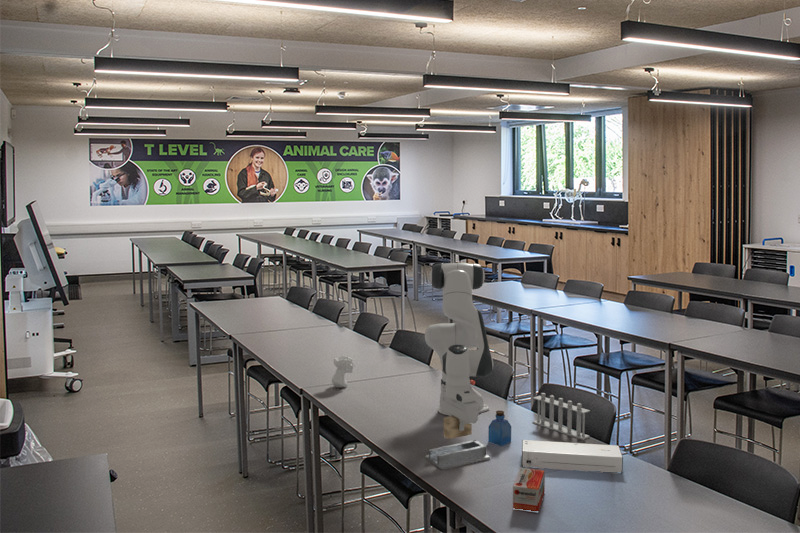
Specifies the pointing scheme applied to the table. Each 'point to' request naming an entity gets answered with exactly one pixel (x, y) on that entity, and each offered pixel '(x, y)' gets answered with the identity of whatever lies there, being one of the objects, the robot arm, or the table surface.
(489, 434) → the perfume bottle
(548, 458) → the laminator
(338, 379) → the white lumpy upright piece
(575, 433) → the test tube rack
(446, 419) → the tan wooden block
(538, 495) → the medicine box
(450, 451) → the floor track
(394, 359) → the table surface
